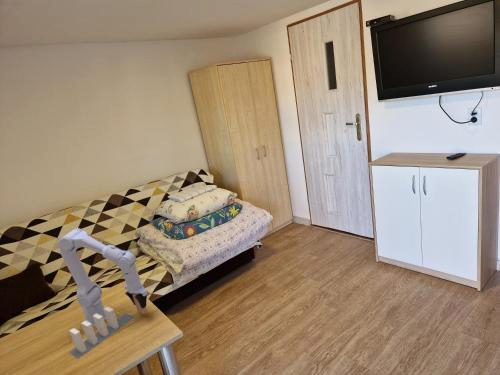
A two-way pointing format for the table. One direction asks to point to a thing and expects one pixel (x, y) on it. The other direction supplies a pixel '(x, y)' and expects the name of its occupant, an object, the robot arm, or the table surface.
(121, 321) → the mat
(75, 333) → the domino
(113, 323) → the domino
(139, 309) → the domino
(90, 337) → the domino
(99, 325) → the domino
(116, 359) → the table surface
